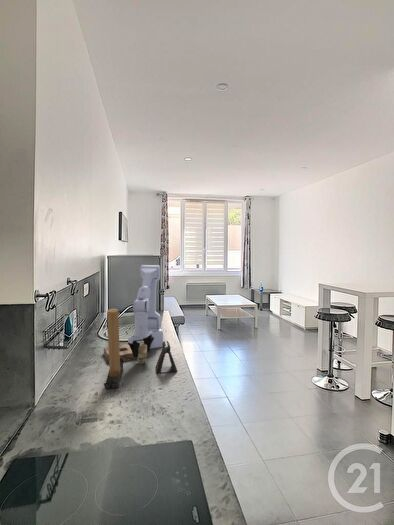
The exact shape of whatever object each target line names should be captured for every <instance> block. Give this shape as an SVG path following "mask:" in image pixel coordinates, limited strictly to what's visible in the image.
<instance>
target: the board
mask: <svg viewBox="0 0 394 525" xmlns="http://www.w3.org/2000/svg"><path fill="white" fill-rule="evenodd" d="M119 347H120V358H121V359H123V361H124V362H125V361H130V360H131V361H132V360H137V359H136V358H135V357H133V354H132V350H131V348H130V346H129V344H128V343H127V344H126V343H125V344H121V345H120V344H119ZM103 355H104V356H105V358H106V359H107V361H108V362H109V346H107V347H106V346H105V347H103Z"/></svg>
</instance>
